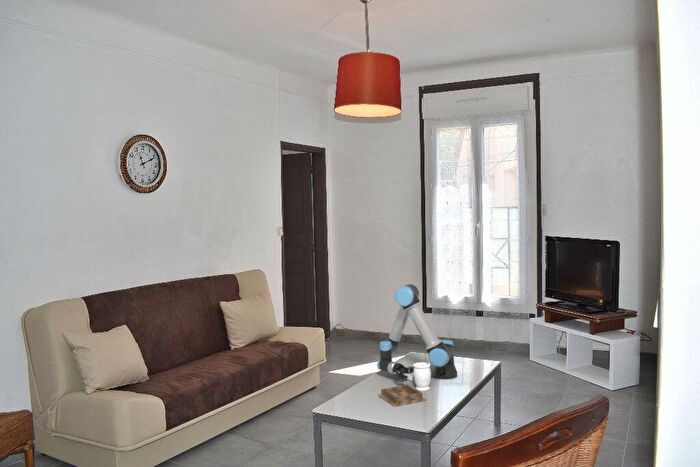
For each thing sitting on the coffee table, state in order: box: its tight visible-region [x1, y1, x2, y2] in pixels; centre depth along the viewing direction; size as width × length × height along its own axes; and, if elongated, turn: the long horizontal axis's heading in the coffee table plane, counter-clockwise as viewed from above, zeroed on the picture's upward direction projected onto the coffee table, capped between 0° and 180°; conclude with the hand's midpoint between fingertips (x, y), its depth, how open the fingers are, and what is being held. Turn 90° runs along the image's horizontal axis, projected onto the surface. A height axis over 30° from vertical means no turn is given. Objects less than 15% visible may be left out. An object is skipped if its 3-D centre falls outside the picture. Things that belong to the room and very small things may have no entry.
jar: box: [412, 361, 432, 392], centre depth 327 cm, size 11×10×15 cm
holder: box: [377, 384, 427, 408], centre depth 311 cm, size 20×20×4 cm
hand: (420, 375), depth 327 cm, fingers open, 13 cm apart
